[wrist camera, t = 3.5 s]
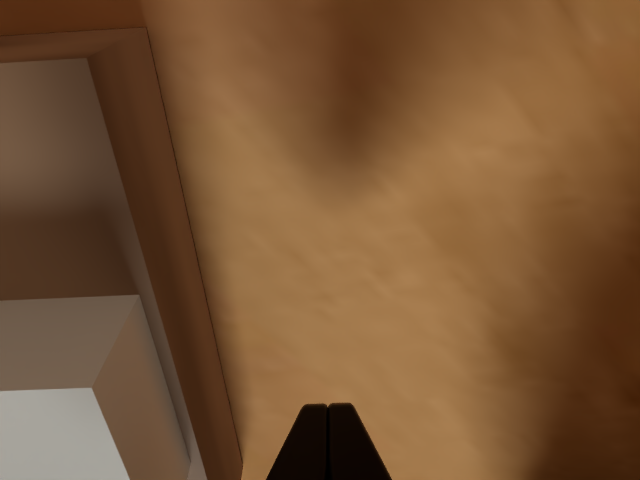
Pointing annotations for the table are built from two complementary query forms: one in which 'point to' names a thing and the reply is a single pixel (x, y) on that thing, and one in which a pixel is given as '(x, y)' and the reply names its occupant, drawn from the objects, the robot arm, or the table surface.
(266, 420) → the table surface
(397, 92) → the table surface
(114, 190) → the brown board
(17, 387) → the tile
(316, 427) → the robot arm
